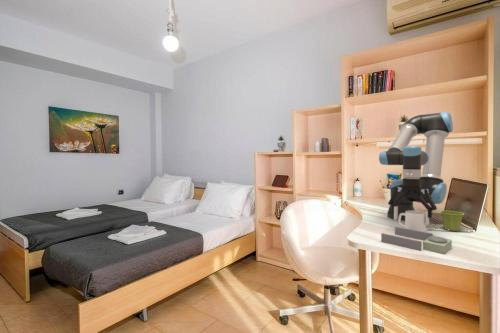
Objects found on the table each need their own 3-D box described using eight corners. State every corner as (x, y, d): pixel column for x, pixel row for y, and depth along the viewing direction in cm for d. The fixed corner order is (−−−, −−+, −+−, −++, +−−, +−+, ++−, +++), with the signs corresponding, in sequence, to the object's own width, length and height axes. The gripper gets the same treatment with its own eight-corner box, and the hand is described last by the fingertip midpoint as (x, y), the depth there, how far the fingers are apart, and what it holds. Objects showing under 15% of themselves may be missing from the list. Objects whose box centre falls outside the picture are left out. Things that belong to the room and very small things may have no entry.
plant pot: (448, 226, 134) (448, 209, 134) (468, 231, 126) (468, 213, 125) (435, 228, 132) (435, 211, 131) (455, 233, 123) (455, 215, 122)
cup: (420, 237, 118) (420, 215, 118) (394, 230, 128) (394, 210, 128) (428, 233, 123) (429, 212, 122) (402, 228, 133) (402, 208, 132)
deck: (395, 233, 123) (395, 225, 123) (453, 245, 107) (453, 236, 106) (381, 241, 113) (381, 232, 113) (442, 255, 96) (442, 245, 96)
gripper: (381, 177, 131) (380, 218, 132) (440, 180, 112) (439, 228, 113) (387, 176, 136) (387, 216, 137) (445, 179, 117) (444, 225, 118)
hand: (410, 221), depth 125 cm, fingers open, 13 cm apart
